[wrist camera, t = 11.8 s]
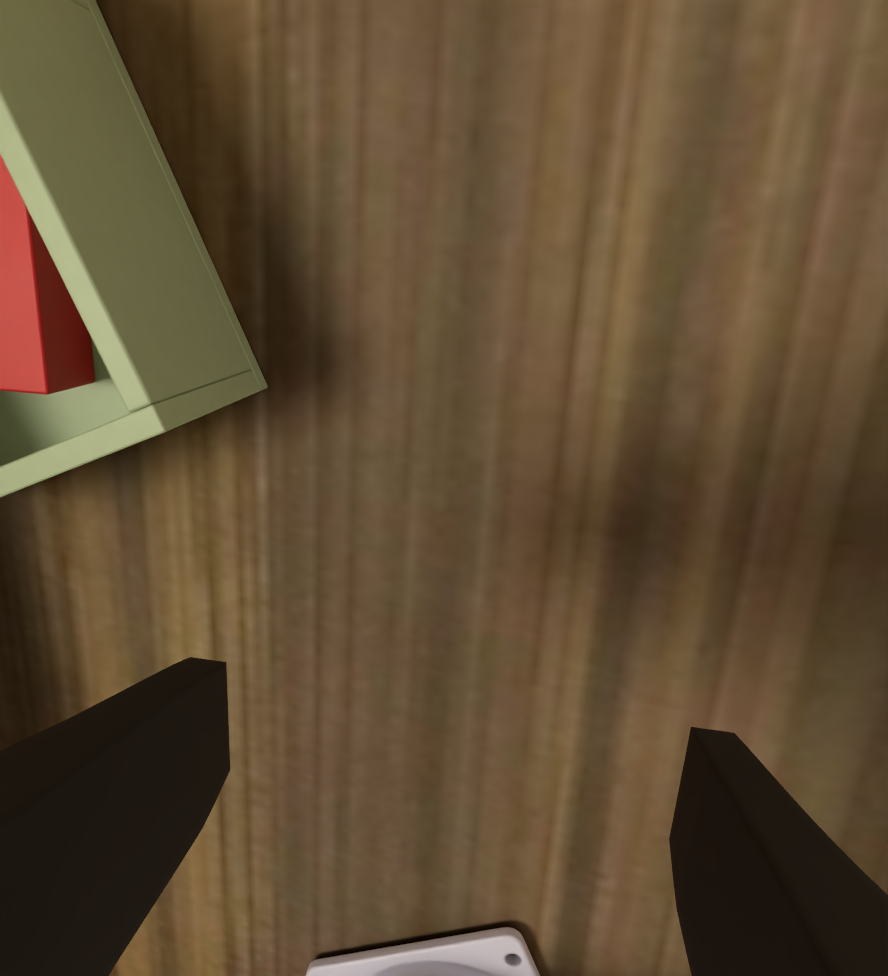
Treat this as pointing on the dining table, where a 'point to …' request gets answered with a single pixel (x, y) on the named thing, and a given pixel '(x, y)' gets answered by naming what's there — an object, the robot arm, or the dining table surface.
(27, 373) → the red rectangular block
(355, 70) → the dining table surface
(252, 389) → the green open box
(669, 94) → the dining table surface
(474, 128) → the dining table surface
